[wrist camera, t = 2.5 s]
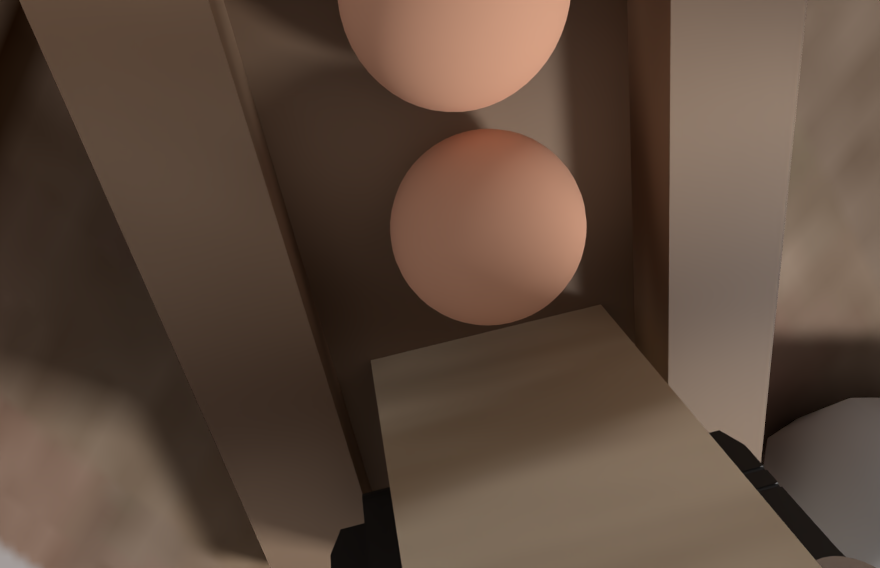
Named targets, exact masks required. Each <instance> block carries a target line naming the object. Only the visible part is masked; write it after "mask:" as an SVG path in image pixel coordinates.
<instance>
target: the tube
mask: <svg viewBox="0 0 880 568" xmlns="http://www.w3.org/2000/svg"><path fill="white" fill-rule="evenodd" d="M763 467H764V469H765V470H768V471H769V472H770V474H771V475H772V476H773V477H774V478H775V479H776V480H777V481H778V484H779V486H780V487H783V488H784V489H785V490H786V491H787V493H788V494H789V495H790V496H791V497H792V498H793V499H794V500H795V501H796V503H797V504H798V505H799V506H800V507H801V508H802V509H803V510H804V512H805V513H806V514H807V515H808V516H809V517H810V518H811V519H812V521H813V522H814V523H815V524H816V525H817V526H818V527H819V528H820V529H821V531H822V532H823V533H824V534H825V535H826V536H827V537H828V538H829V540H830V541H831V542H832V543H833V544H834V545H835V546H836V547H837V549H838V550H839V551H840V552H842V553H843V554H844V555H845V556H846V557H849V558H854V559H857V560H860V561H863V562H866V563H868V564H870V565H872V566H874V567H876V568H880V397H877V398H848V399H846V400H843V401H841V402H838V403H836V404H833V405H830V406H828V407H825V408H823V409H820V410H818V411H815V412H812V413H810V414H807V415H805V416H802V417H799V418H798V419H796V420H794V421H793V422H791V423H790V424H788V425H787V426H785V427H784V428H782V429H781V430H779V431H778V432H776V433H775V434H773V435H772V436H770V437H769V438H767V445H766V452H765V459H764V466H763Z"/></svg>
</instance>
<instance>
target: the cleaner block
mask: <svg viewBox="0 0 880 568" xmlns="http://www.w3.org/2000/svg"><path fill="white" fill-rule="evenodd" d="M371 366H372V373H373V380H374V386H375V393H376V399H377V406H378V412H379V419H380V425H381V432H382V439H383V445H384V452H385V458H386V465H387V471H388V478H389V484H390V491H391V498H392V504H393V511H394V517H395V524H396V530H397V537H398V543H399V550H400V557H401V563H402V568H822V567H821V566H820V565H819V564H818V562H817V561H816V560H815V559H814V558H813V556H812V555H811V554H810V553H809V552H808V550H807V549H806V548H805V547H804V546H803V545H802V543H801V542H800V541H799V540H798V539H797V537H796V536H795V535H794V534H793V533H792V531H791V530H790V529H789V528H788V527H787V525H786V524H785V523H784V522H783V521H782V520H781V518H780V517H779V516H778V515H777V514H776V512H775V511H774V510H773V509H772V508H771V506H770V505H769V504H768V503H767V502H766V500H765V499H764V498H763V497H762V496H761V495H760V493H759V492H758V491H757V490H756V489H755V487H754V486H753V485H752V484H751V483H750V481H749V480H748V479H747V478H746V477H745V475H744V474H743V473H742V472H741V471H740V470H739V468H738V467H737V466H736V465H735V464H734V462H733V461H732V460H731V459H730V458H729V456H728V455H727V454H726V453H725V452H724V450H723V449H722V448H721V447H720V446H719V445H718V443H717V442H716V441H715V440H714V439H713V437H712V436H711V435H710V434H709V433H708V431H707V430H706V429H705V428H704V427H703V425H702V424H701V423H700V422H699V421H698V419H697V418H696V417H695V416H694V415H693V414H692V412H691V411H690V410H689V409H688V408H687V406H686V405H685V404H684V403H683V402H682V400H681V399H680V398H679V397H678V396H677V394H676V393H675V392H674V391H673V390H672V389H671V387H670V386H669V385H668V384H667V383H666V381H665V380H664V379H663V378H662V377H661V375H660V374H659V373H658V372H657V371H656V369H655V368H654V367H653V366H652V365H651V364H650V362H649V361H648V360H647V359H646V358H645V356H644V355H643V354H642V353H641V352H640V350H639V349H638V348H637V347H636V346H635V344H634V343H633V342H632V341H631V340H630V339H629V337H628V336H627V335H626V334H625V333H624V331H623V330H622V329H621V328H620V327H619V325H618V324H617V323H616V322H615V321H614V319H613V318H612V317H611V316H610V315H609V314H608V312H607V311H606V310H605V309H604V308H603V306H602V305H601V304H600V305H596V306H592V307H588V308H584V309H580V310H576V311H571V312H567V313H563V314H559V315H555V316H551V317H547V318H543V319H539V320H534V321H530V322H526V323H522V324H518V325H514V326H510V327H506V328H502V329H498V330H493V331H489V332H485V333H481V334H477V335H473V336H469V337H465V338H461V339H456V340H452V341H448V342H444V343H440V344H436V345H432V346H428V347H424V348H420V349H415V350H411V351H407V352H403V353H399V354H395V355H391V356H387V357H383V358H378V359H374V360H371Z"/></svg>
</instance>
